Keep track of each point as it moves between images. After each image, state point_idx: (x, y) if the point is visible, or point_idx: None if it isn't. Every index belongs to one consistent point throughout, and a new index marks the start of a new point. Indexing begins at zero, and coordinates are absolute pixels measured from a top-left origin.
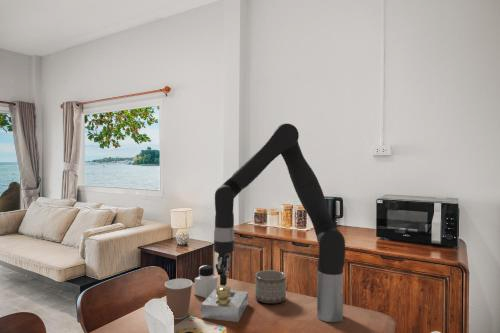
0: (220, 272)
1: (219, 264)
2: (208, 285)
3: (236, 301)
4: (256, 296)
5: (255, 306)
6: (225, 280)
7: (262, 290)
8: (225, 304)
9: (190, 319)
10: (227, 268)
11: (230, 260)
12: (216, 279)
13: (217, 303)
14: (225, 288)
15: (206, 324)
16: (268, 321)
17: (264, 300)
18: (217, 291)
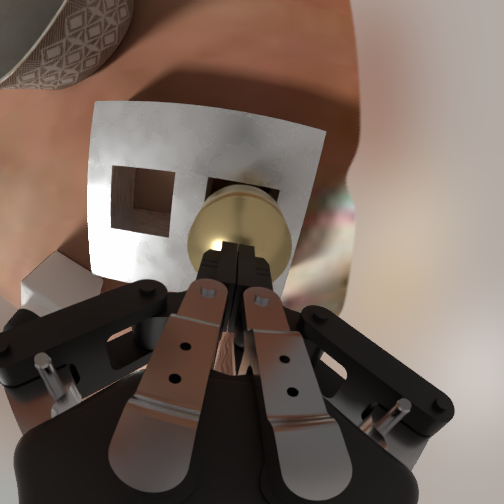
0: (316, 361)
1: (428, 438)
2: (76, 302)
3: (235, 143)
4: (85, 73)
5: (144, 68)
6: (254, 265)
7: (95, 29)
8: (278, 201)
9: (284, 305)
10: (264, 330)
11: (29, 329)
12: (30, 280)
13: None
14: (240, 234)
15: (324, 251)
16: (295, 15)
17: (122, 31)
18: (273, 276)
